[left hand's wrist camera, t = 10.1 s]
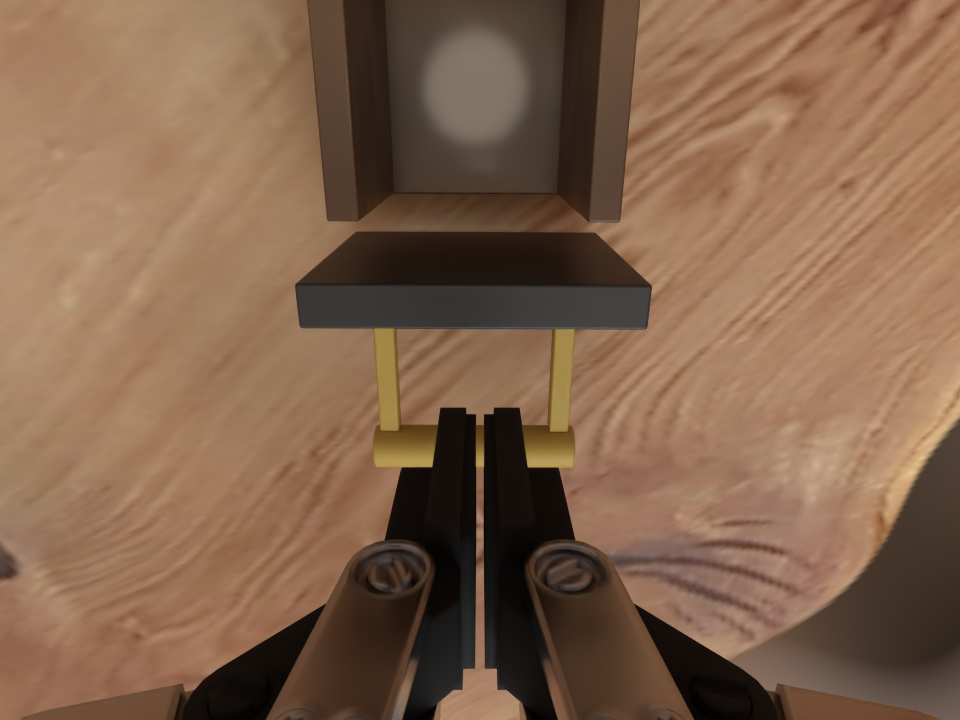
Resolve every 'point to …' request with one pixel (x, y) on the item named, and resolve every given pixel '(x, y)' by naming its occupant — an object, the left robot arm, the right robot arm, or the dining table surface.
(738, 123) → the dining table surface
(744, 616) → the dining table surface
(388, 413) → the drawer
